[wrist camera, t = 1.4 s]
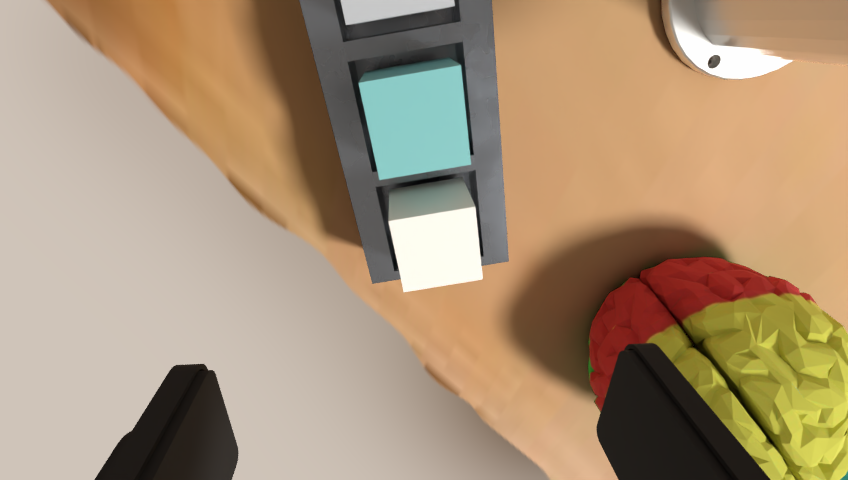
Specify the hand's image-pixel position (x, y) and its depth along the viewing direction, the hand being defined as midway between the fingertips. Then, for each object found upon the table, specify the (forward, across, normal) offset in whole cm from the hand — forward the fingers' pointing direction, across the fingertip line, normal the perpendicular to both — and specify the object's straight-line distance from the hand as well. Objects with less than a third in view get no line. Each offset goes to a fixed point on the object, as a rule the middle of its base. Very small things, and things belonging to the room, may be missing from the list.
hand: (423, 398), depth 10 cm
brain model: (+23, -27, +20) cm, 41 cm away
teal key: (+19, -1, -3) cm, 20 cm away
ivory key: (+19, -2, +4) cm, 20 cm away
